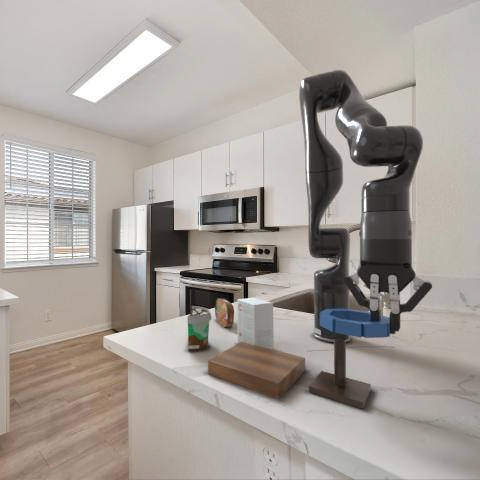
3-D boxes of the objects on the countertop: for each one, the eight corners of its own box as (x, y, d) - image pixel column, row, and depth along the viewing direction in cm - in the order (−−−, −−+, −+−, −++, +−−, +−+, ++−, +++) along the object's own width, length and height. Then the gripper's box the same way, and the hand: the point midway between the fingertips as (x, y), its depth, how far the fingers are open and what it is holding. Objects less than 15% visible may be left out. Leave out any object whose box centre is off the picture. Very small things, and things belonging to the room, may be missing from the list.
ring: (329, 317, 66) (329, 306, 66) (393, 327, 58) (393, 314, 58) (314, 328, 57) (314, 316, 57) (386, 342, 50) (386, 328, 50)
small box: (274, 350, 81) (273, 302, 80) (254, 354, 78) (254, 304, 78) (255, 341, 88) (254, 297, 88) (236, 343, 86) (236, 298, 86)
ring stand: (321, 376, 66) (321, 330, 66) (370, 389, 60) (370, 339, 60) (308, 391, 59) (308, 341, 59) (362, 409, 53) (362, 352, 53)
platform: (241, 352, 80) (241, 341, 80) (305, 370, 69) (305, 357, 69) (208, 373, 68) (207, 360, 68) (278, 398, 57) (278, 383, 57)
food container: (211, 355, 78) (210, 317, 78) (187, 353, 79) (187, 316, 79) (212, 339, 90) (212, 306, 90) (192, 337, 91) (191, 305, 91)
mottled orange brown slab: (214, 318, 113) (214, 296, 113) (222, 317, 113) (222, 295, 113) (226, 330, 98) (226, 305, 98) (235, 330, 98) (235, 304, 98)
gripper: (436, 236, 52) (436, 334, 53) (345, 237, 62) (346, 320, 62) (436, 236, 47) (436, 346, 47) (337, 237, 56) (337, 329, 56)
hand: (384, 331), depth 55 cm, fingers closed on ring, 1 cm apart
